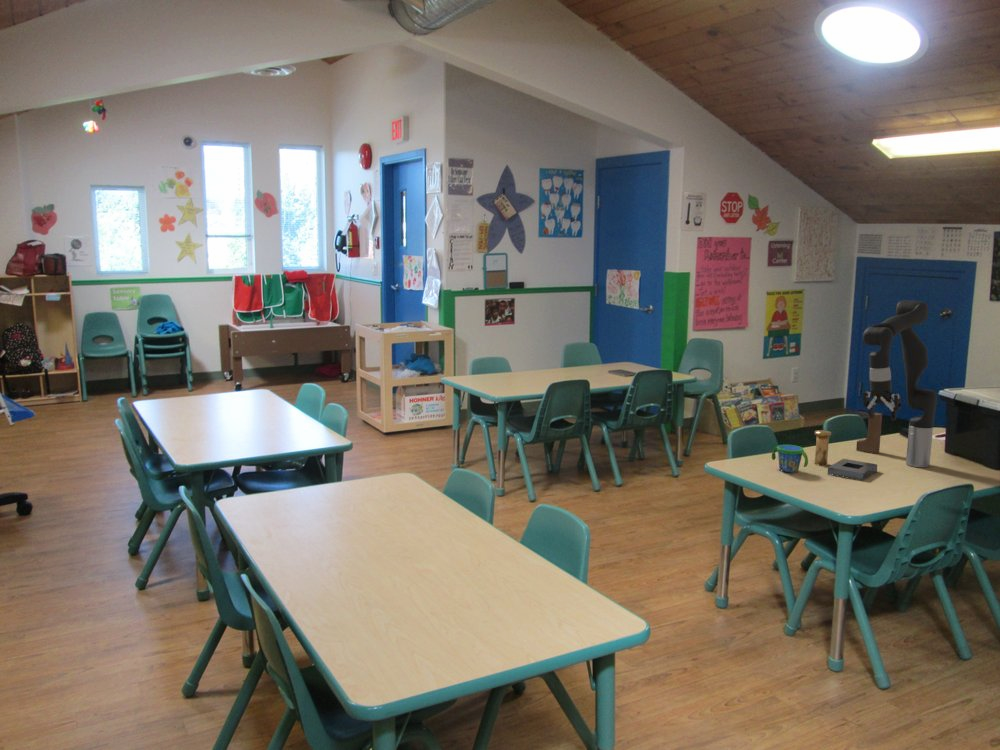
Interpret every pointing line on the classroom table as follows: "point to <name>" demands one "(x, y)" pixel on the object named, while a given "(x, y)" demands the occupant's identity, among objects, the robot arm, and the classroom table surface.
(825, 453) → the brass flanged peg
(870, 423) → the wooden block
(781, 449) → the snack cup
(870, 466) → the plate
